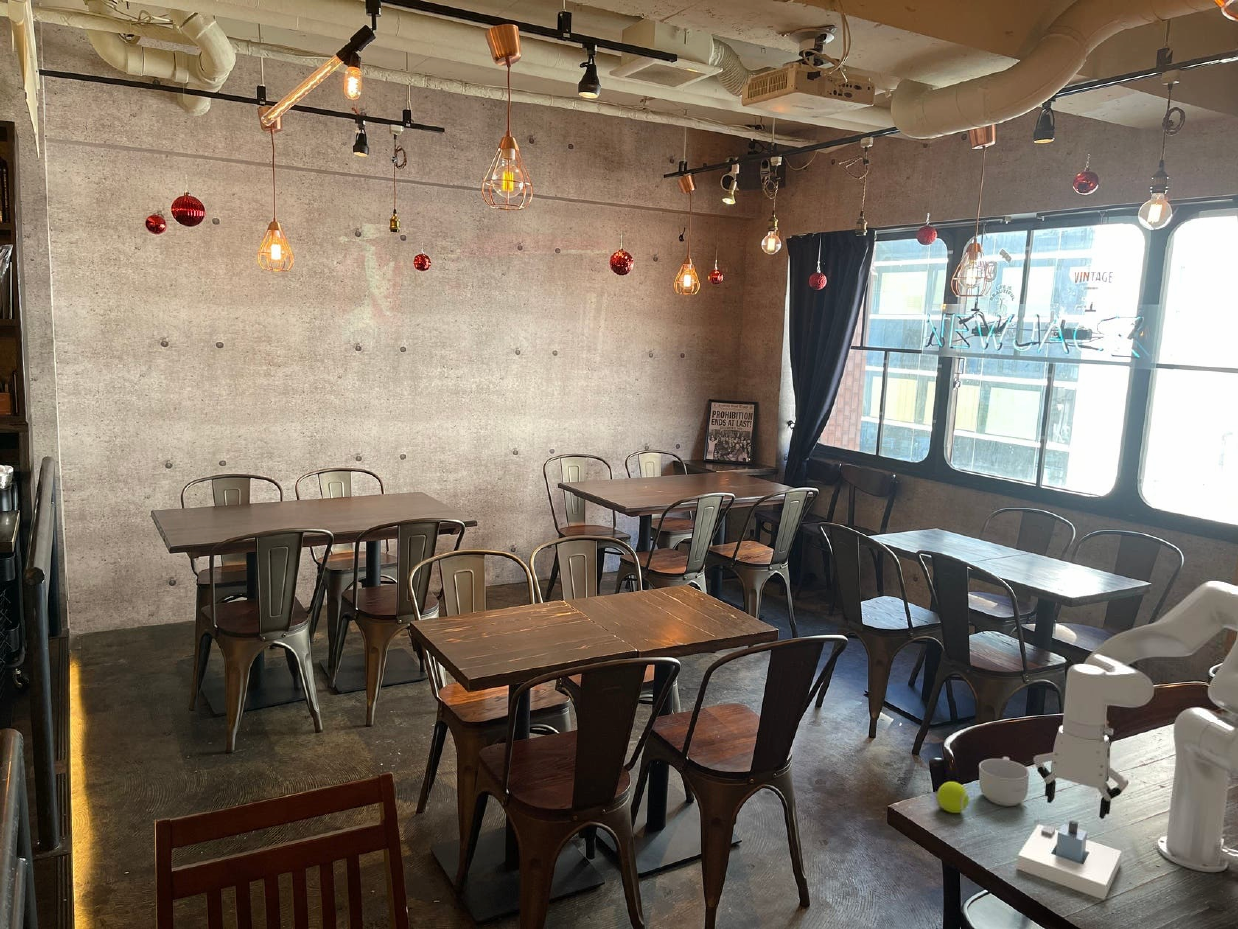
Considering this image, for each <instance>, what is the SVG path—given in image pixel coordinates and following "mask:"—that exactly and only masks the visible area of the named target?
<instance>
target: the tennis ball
mask: <svg viewBox="0 0 1238 929" xmlns="http://www.w3.org/2000/svg"><path fill="white" fill-rule="evenodd" d="M936 796H937V801H938V803H939V805H940V806H941V808H942V809H943V810H944V811H946V812H948V813H952V814H958V813H961V812H963V811H964V810H965V809H966V808H967V807H968V805H969V801H970V800H969V799H970V798H969V793H968V791H967V789H966V788H965V787H964V786H963V785H962V784H961V783H958V782H957V781H947V782H944V783H942V785H940V786H939V788H938V790H937V794H936Z"/></svg>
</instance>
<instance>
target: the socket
mask: <svg viewBox="0 0 1238 929" xmlns="http://www.w3.org/2000/svg"><path fill="white" fill-rule="evenodd" d="M1058 832H1059V829H1058V830H1057V829H1056V828H1055V827H1053V826H1049V825H1047V824H1045V825H1042V824H1037V826H1036V827H1035V828H1034V830H1033V832H1032V833H1031V835H1030V836H1029V838H1028V839H1027V840H1026V842H1025V843H1024V845H1023V847H1022V848H1021V849H1020V850H1019V852H1018V854H1017V862H1016V870H1019V871H1023V872H1025V873H1028V874H1031V875H1033V876H1036V877H1039V878H1042V879H1045V880H1046V881H1050V882H1053V883H1056V884H1058V885H1061V886H1063V887H1067V888H1070V889H1073V890H1076V891H1078V892H1081V893H1084V894H1086V895H1089V896H1091V897H1095V898H1097V899H1100V900H1103V901H1105V900H1106V898H1107V894H1108V893H1109V891H1110V888H1111V886H1112V884H1113V881H1114V880H1115V877H1116V874H1117V873H1118V871H1119V868H1120V865H1121V859H1122V850H1119V849H1116V848H1113V847H1110V846H1106V845H1104V844H1100V843H1098V842H1095V841H1091V840H1089V839H1086V848H1085V857H1084V864H1080V863H1077V862H1074V861H1071V860H1068V859H1065V858H1062V857H1059V856H1056V847H1057V837H1058Z"/></svg>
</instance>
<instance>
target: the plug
mask: <svg viewBox="0 0 1238 929" xmlns="http://www.w3.org/2000/svg"><path fill="white" fill-rule="evenodd" d="M1078 827H1079V822H1077V821H1075V820H1069V822H1068V825H1067V824H1064V823H1063V824H1062V825H1061V827H1060V829H1058V831H1059V832H1058V837H1057V847H1056V856H1059V857H1062V858H1065V859H1068V860H1071V861H1074V862H1077V863H1080V864H1084V857H1085V848H1086V840H1088V839H1087V837H1088V831H1086V830H1083V829H1080V828H1078Z"/></svg>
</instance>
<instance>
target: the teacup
mask: <svg viewBox="0 0 1238 929" xmlns="http://www.w3.org/2000/svg"><path fill="white" fill-rule="evenodd" d="M978 771H979V774H978V775H979V776H978V778H979V779H978V780H979V783H978V784H979V789H980V792H981V794H983V796H984V797H985V798H986V799H987V800H988V801H990V802H991V803H994V804H996V805H998V806H1005V807H1013V806H1016V805H1018V804H1019V803H1022V802H1023V801H1025V799H1026V798H1027V796H1028V791H1029V777H1030V770H1029V769H1028V767H1026V766H1025V765H1023V764H1021V763H1019V762H1016V761H1013V760H1010V758H1009V756H1003V757H1002V758H988V759H984V760H981V762H979V764H978Z"/></svg>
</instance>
